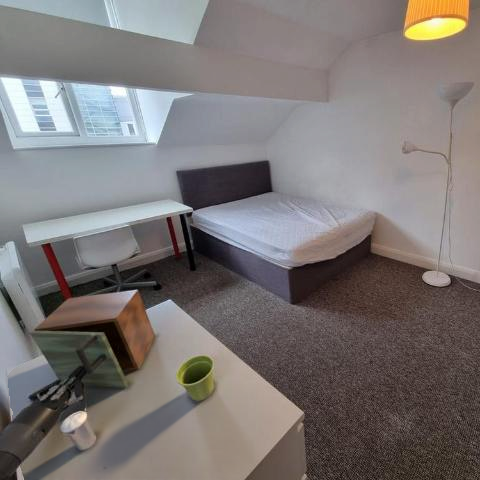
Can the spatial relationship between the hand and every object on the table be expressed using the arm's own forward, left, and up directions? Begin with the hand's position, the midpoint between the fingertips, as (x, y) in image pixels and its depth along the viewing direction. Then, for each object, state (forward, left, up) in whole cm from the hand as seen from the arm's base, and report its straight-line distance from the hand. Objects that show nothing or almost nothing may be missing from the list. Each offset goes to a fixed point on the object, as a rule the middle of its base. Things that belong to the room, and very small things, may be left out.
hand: (84, 367), depth 74 cm
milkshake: (+7, -16, -8) cm, 19 cm away
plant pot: (+31, -8, -8) cm, 33 cm away
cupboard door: (-1, -2, -8) cm, 8 cm away
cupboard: (0, +11, -8) cm, 13 cm away
